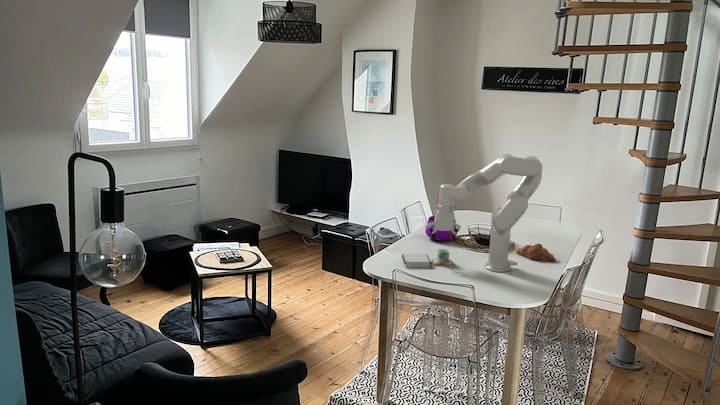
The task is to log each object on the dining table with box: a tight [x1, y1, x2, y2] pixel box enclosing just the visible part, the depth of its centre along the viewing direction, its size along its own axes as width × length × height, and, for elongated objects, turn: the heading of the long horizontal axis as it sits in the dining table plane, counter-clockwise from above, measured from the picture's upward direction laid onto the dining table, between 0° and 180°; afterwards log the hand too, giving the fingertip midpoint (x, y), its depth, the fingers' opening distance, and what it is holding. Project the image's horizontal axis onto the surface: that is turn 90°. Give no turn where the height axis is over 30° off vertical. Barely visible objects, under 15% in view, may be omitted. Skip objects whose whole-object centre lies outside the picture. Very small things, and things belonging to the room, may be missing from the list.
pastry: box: [515, 243, 556, 263], centre depth 284 cm, size 17×15×8 cm
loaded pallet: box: [431, 248, 455, 267], centre depth 272 cm, size 10×6×7 cm, turn 92°
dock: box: [401, 253, 432, 268], centre depth 272 cm, size 14×12×3 cm
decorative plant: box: [424, 196, 458, 242], centre depth 311 cm, size 19×18×30 cm
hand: (442, 240), depth 270 cm, fingers open, 9 cm apart
